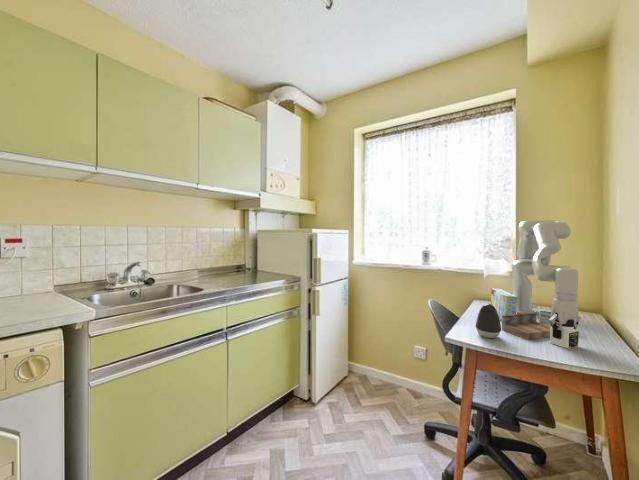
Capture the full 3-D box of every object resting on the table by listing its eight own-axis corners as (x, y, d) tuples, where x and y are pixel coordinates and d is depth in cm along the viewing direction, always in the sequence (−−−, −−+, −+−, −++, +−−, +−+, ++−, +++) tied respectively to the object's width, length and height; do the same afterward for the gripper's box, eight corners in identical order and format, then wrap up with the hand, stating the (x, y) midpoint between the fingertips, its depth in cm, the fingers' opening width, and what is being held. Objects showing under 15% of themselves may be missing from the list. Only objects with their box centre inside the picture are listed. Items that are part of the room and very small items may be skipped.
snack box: (517, 325, 149) (517, 296, 149) (505, 324, 150) (505, 295, 150) (500, 313, 170) (500, 288, 169) (489, 312, 171) (490, 287, 171)
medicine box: (538, 327, 146) (539, 310, 146) (539, 325, 150) (540, 308, 149) (559, 330, 141) (559, 313, 141) (559, 328, 144) (560, 311, 144)
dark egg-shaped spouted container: (477, 338, 130) (477, 305, 130) (474, 331, 140) (474, 300, 139) (503, 342, 127) (504, 307, 126) (498, 334, 136) (499, 302, 136)
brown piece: (533, 326, 147) (533, 312, 147) (561, 335, 134) (562, 320, 134) (501, 329, 142) (502, 315, 142) (527, 339, 129) (528, 323, 129)
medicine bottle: (568, 349, 119) (570, 320, 119) (549, 343, 126) (550, 315, 125) (578, 346, 122) (579, 318, 121) (559, 340, 128) (560, 314, 128)
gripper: (571, 293, 129) (569, 332, 129) (541, 295, 124) (539, 335, 125) (590, 297, 122) (588, 338, 122) (559, 300, 117) (558, 342, 118)
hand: (564, 337), depth 124 cm, fingers closed on medicine bottle, 7 cm apart
